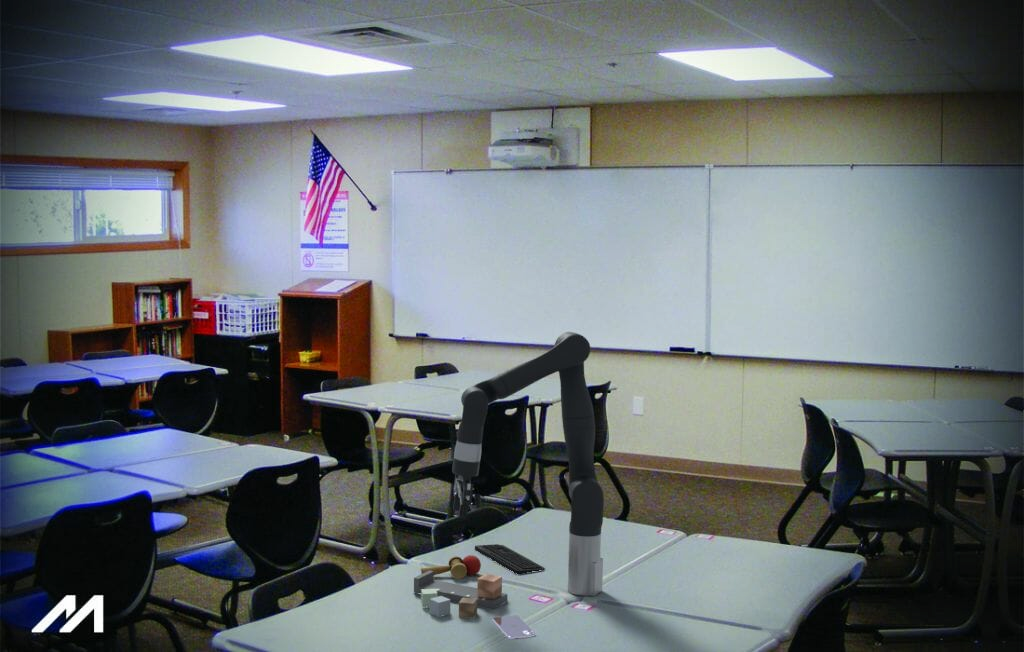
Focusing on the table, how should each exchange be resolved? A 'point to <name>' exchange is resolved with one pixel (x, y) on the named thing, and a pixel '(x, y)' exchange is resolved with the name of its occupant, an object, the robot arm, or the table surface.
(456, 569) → the kendama
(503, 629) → the mobile phone
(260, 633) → the table surface
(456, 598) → the rail board
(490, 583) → the slider
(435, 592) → the cube sage
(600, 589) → the robot arm
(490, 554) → the keyboard
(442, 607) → the cube slate
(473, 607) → the cube walnut
